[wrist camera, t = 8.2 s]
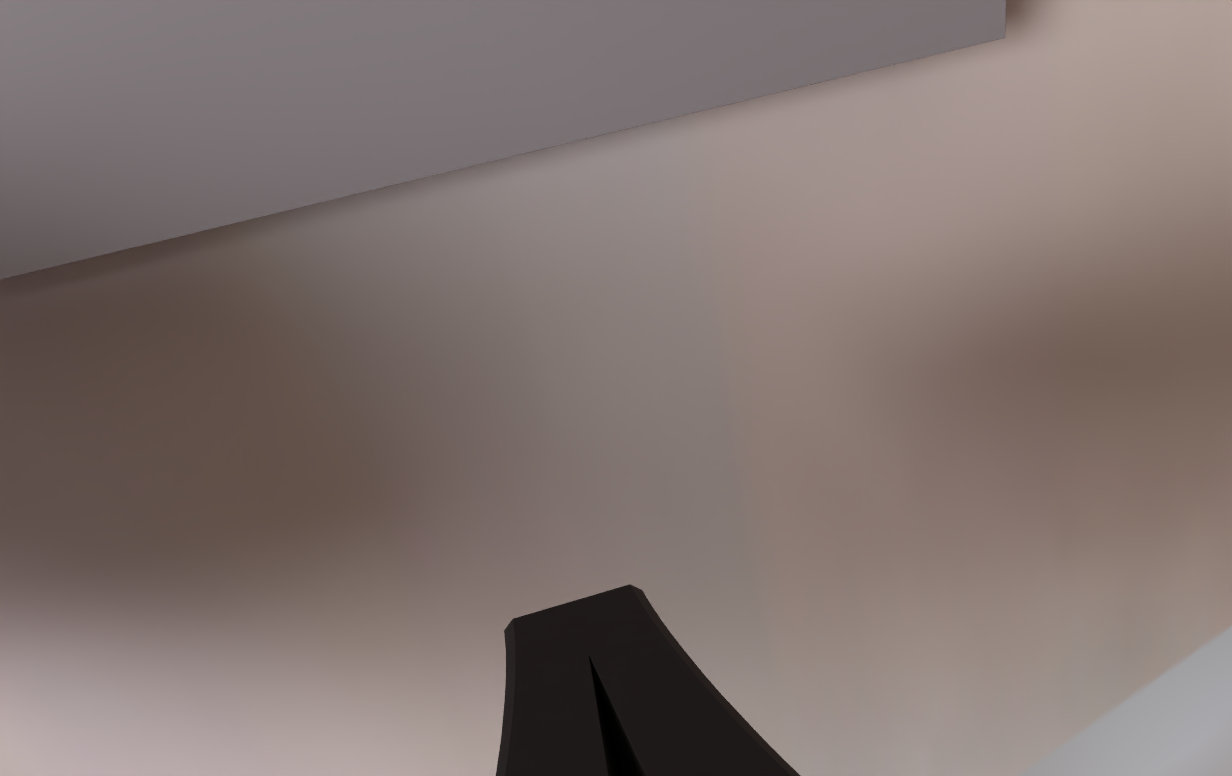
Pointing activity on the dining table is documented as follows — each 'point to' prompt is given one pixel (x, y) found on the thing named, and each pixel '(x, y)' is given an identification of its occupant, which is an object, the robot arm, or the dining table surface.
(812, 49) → the console
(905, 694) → the dining table surface
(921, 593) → the dining table surface
